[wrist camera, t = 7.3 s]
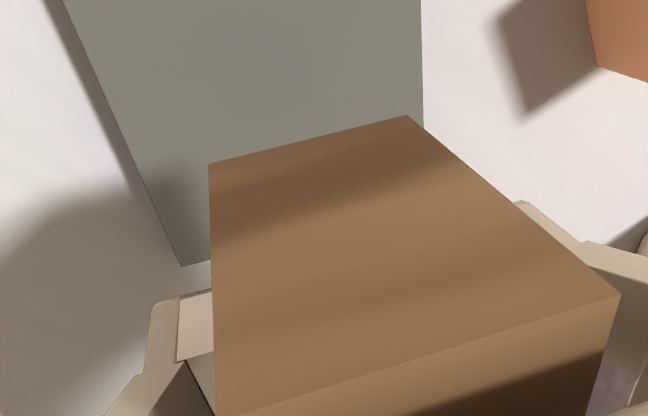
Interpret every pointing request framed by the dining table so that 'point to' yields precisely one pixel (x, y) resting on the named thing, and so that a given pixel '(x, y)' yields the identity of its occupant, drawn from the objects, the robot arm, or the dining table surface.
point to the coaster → (242, 84)
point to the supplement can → (643, 247)
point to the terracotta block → (620, 35)
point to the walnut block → (392, 286)
